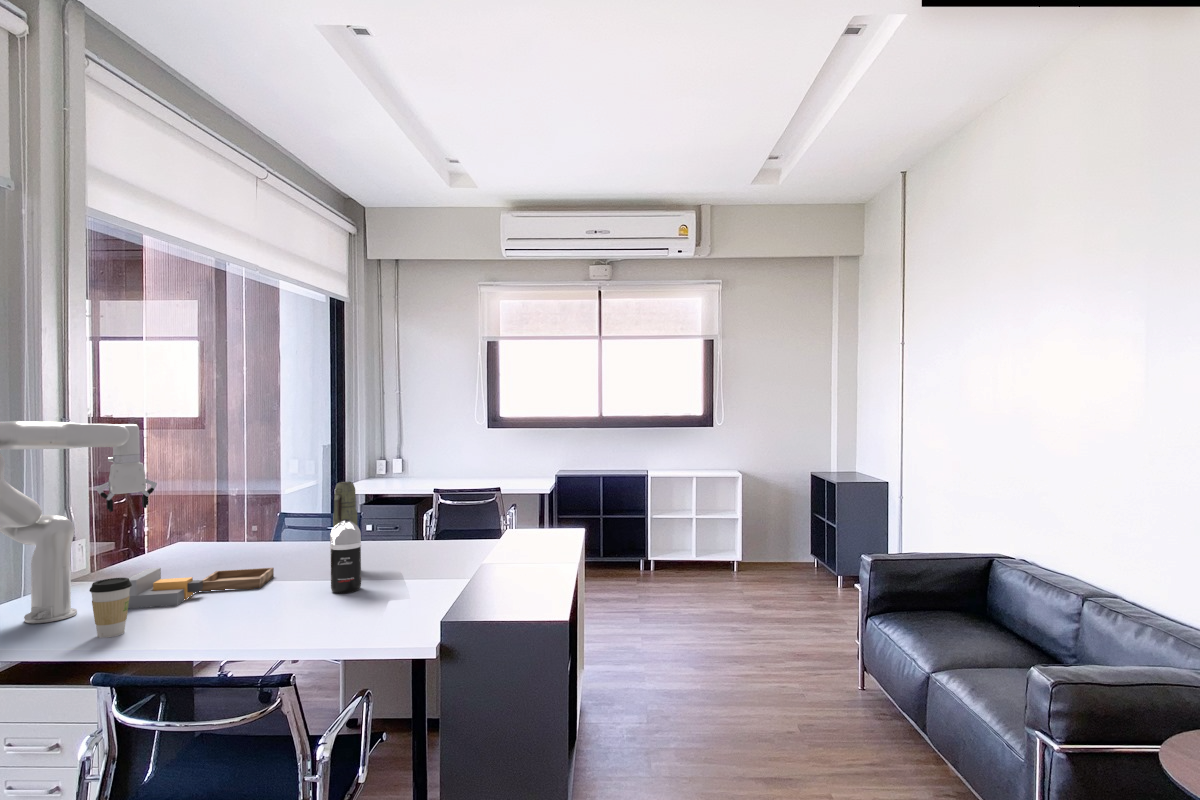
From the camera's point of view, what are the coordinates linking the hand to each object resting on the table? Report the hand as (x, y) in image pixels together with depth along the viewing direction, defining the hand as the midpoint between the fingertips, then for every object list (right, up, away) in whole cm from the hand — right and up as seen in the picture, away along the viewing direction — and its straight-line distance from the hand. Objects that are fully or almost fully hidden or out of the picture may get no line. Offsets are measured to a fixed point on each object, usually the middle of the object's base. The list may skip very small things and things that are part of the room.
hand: (127, 509), depth 233 cm
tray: (+30, -30, +14) cm, 45 cm away
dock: (+15, -30, -5) cm, 34 cm away
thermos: (+63, -30, +31) cm, 77 cm away
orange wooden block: (+20, -30, -4) cm, 36 cm away
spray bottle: (+74, -29, +3) cm, 80 cm away
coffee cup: (+24, -29, -41) cm, 56 cm away
